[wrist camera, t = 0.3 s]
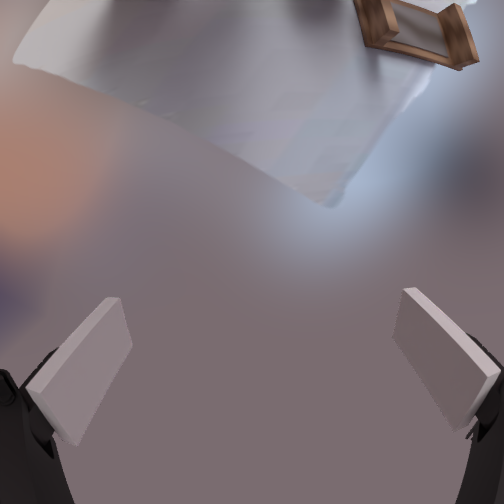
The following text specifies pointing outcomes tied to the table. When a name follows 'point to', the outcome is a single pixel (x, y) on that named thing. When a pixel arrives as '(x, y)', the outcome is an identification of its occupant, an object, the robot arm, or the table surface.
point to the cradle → (418, 31)
